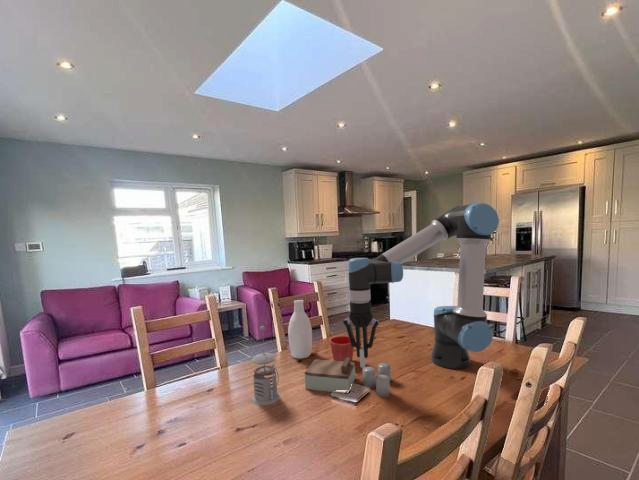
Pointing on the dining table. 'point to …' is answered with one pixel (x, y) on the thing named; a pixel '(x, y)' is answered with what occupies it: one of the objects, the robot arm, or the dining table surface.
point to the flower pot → (341, 348)
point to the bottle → (300, 332)
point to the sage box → (329, 382)
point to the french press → (265, 379)
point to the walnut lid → (331, 368)
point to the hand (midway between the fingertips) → (363, 366)
